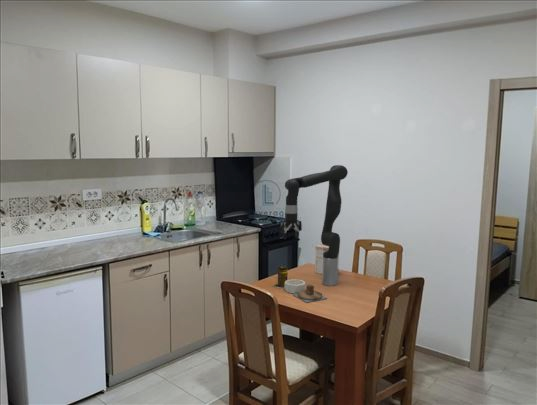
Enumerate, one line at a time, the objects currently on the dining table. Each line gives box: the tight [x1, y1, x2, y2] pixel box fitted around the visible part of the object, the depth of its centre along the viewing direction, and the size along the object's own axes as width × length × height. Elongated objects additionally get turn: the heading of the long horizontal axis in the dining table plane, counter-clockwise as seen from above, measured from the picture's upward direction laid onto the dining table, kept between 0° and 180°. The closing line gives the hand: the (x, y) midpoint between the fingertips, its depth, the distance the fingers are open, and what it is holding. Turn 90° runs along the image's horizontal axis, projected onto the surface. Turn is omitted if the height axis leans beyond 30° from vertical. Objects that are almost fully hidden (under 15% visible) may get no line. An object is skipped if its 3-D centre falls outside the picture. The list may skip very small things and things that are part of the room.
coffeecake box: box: [314, 243, 340, 275], centre depth 290 cm, size 15×7×20 cm, turn 52°
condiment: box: [272, 265, 288, 289], centre depth 262 cm, size 7×8×12 cm
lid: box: [298, 284, 323, 300], centre depth 243 cm, size 14×14×6 cm
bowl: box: [283, 278, 307, 295], centre depth 255 cm, size 12×12×5 cm
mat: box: [292, 294, 328, 304], centre depth 244 cm, size 14×14×1 cm
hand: (290, 238), depth 260 cm, fingers open, 8 cm apart
